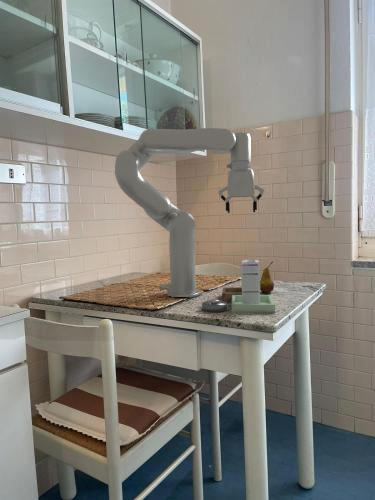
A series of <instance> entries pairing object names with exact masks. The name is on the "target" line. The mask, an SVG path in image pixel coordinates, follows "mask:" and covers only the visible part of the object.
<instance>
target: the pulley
mask: <svg viewBox="0 0 375 500" xmlns="http://www.w3.org/2000/svg"><path fill="white" fill-rule="evenodd" d="M201 310H202V311H203V312H205V313H211V314H212V313H213V314H215V313H217V314H218V313H225V312H227V311H228V302H225V301H222V300H219V299H217V298H215V299H214V298H213V299H210V300H205V301H202V303H201Z"/></svg>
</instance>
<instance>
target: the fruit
mask: <svg viewBox="0 0 375 500" xmlns="http://www.w3.org/2000/svg"><path fill="white" fill-rule="evenodd" d="M273 263H274V261H271V262H270V264H269V265H268V266H266V267H265V268H264V269H263V271H262V275H261V276H260V292H262V293H264V294H270V293H272V292H273V290H274V288H275V284H274V283H275V282H274V280H273V278H272V277H271V272H270V269H269V268H270V266H271V265H272V264H273Z"/></svg>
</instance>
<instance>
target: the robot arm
mask: <svg viewBox="0 0 375 500" xmlns="http://www.w3.org/2000/svg"><path fill="white" fill-rule="evenodd" d="M208 150H209V151H210V152H211V153H212V154H215V155H224V154H230V163H228V164H226V169H230V170H228V173H227V186H225V187H223V188H222V189H220V190H218V192H217V193H218V195H219V197H220V199H222V201H224V202H225V212H227V214H230V213H231V210H230V209H231V208H230V206H231V205H230V200H231V199H232V198H251V199H252V201H253V202H252V212H253V213H256V211H258V201H259V200H260V199H261V198H262V196H263V195H264V192H265V189H264V188H261V187H259V186H258V185H256V184H255V175H254V170H253V169H252V168H251V167H252V165H251V158H252V157H251V156H252V155H251V152H252V151H251V150H252V149H251V134H250V133H248V132H243V131H241V132H235V133H234V132H233V131H232V130H231V129H227V128H219V127H218V128H217V127H214V128H213V127H203V128H188V129H172V128H171V129H169V128H164V129H163V128H148V129H145V130H143V131H142V132H141V134H140V135H139V137H138V139H137V140H136V141H135V142H134V143H133V144H132V145H131V146H130V147H129V148H128V149H125V150H121V151H120V152H119V153H118V154H117V156H116V158H115V162H114V175H115V179H116V182H117V184H118V186H119V188H120V190H122V191H121V192H123V193H124V194H125V195H126V196H127V197H128V198H129V199H131V200H132V201H133V202H134V203H136V204H137V205H138V206H139V207H141V208H142V209H143V210H144V212H145V214H146V215H147V216H148V217H149V218H151V219H152V220H153V221H154V222H155V223H157V224H158V225H159V226H161V227H162V228H164V230H166V231H168V232H169V240H168V241H169V243H168V245H169V248H168V249H169V250H168V251H169V273H170V274H169V275H170V280H169V281H170V282H168V283H160V284H159V290H167V291H166V296H168V297H169V296H171V297H170V298H174V297H189V298H195V297H198V296H200V295H201V290H199V289H197V287H196V286H197V283H196V282H197V280H196V279H197V278H196V277H197V276H196V275H197V274H196V246H195V245H196V243H195V242H196V232H197V231H196V230H197V229H196V228H197V227H196V226H197V225H196V219H195V217H194V216H193V215H192V213H191V212H189V211H187V210H181V209H180V208H178V207H177V206H175V205H174V204H173V203H172V202H171V200H170V198H169V197H168V196H167V195H166V194H164V193H162V192H161V191H159V189H157V188H156V187H155V186H153V185H152V184H150V183H149V182H148V181H147V180H146V179H145V178H144V177H143V176H142V174H141V172H140V170H141V169H142V168H143V167H144V166H146V165H147V164H148V163H149V162H150V161H151V160H152V159H153V157H155V156H156V154H158V155H159V154H162V155H165V154H168V155H169V154H170V155H171V154H174V155H187V154H192V153H193V152H199V151H208ZM255 190H257V191H258V192H259V194H258V195H257V196H255V192H256V191H255ZM225 192H227V197H225V195H224V193H225Z"/></svg>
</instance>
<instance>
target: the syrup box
mask: <svg viewBox="0 0 375 500" xmlns="http://www.w3.org/2000/svg"><path fill="white" fill-rule="evenodd" d="M240 266H241V267H240V268H241V269H240V270H241V271H240V272H241V273H240V274H241V287H242V304H260V295H261V290H260V280H261V276H260V273H261V272H260V261H259V259H244V260H241V264H240Z"/></svg>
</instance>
